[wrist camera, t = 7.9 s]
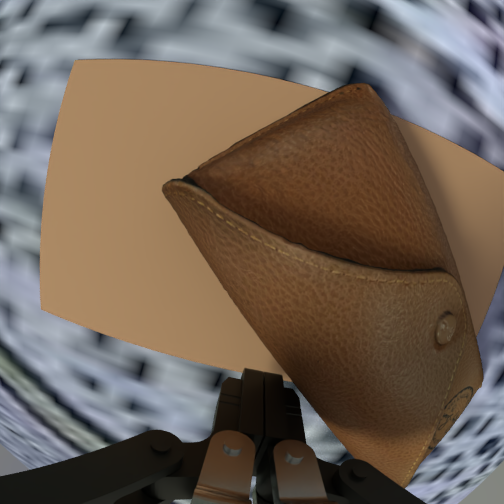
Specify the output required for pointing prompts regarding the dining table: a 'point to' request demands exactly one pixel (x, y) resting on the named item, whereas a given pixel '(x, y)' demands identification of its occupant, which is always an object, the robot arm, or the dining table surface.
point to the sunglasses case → (342, 273)
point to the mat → (168, 223)
